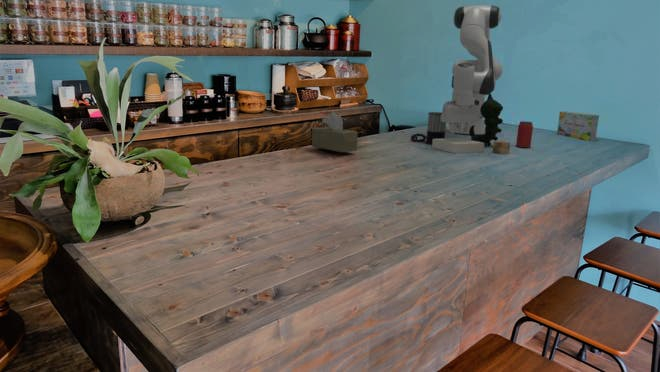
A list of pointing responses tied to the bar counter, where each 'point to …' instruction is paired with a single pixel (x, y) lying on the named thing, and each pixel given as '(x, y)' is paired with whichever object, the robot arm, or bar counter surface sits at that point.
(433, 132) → the milk frother
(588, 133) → the snack box
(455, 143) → the cream base
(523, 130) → the beer can
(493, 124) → the toy figurine
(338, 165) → the bar counter surface
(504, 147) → the block
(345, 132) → the tissue box
